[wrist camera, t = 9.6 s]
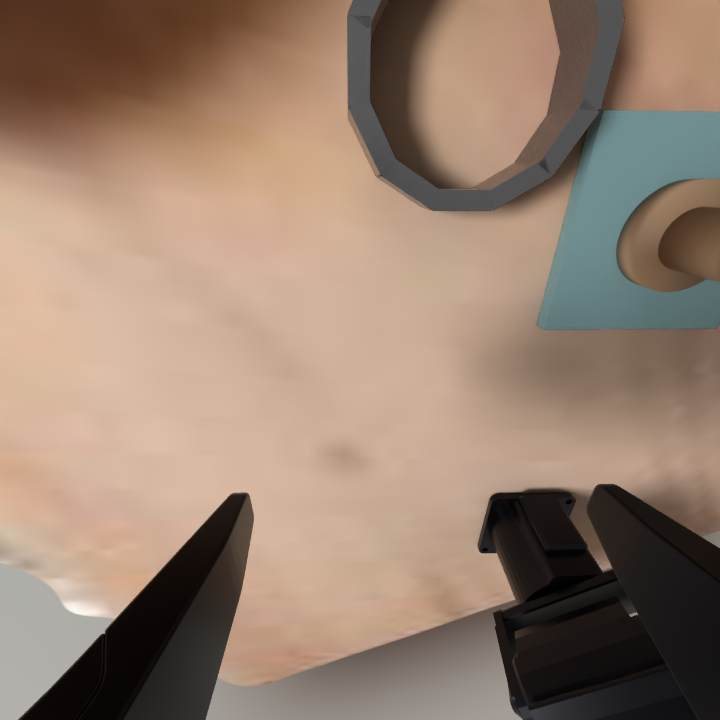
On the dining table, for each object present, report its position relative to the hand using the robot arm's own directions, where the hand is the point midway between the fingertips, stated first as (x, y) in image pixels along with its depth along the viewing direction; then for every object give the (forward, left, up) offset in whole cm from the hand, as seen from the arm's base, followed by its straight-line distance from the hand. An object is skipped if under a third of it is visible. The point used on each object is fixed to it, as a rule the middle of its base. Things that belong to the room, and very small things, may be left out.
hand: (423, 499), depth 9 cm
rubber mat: (+5, -14, -12) cm, 19 cm away
